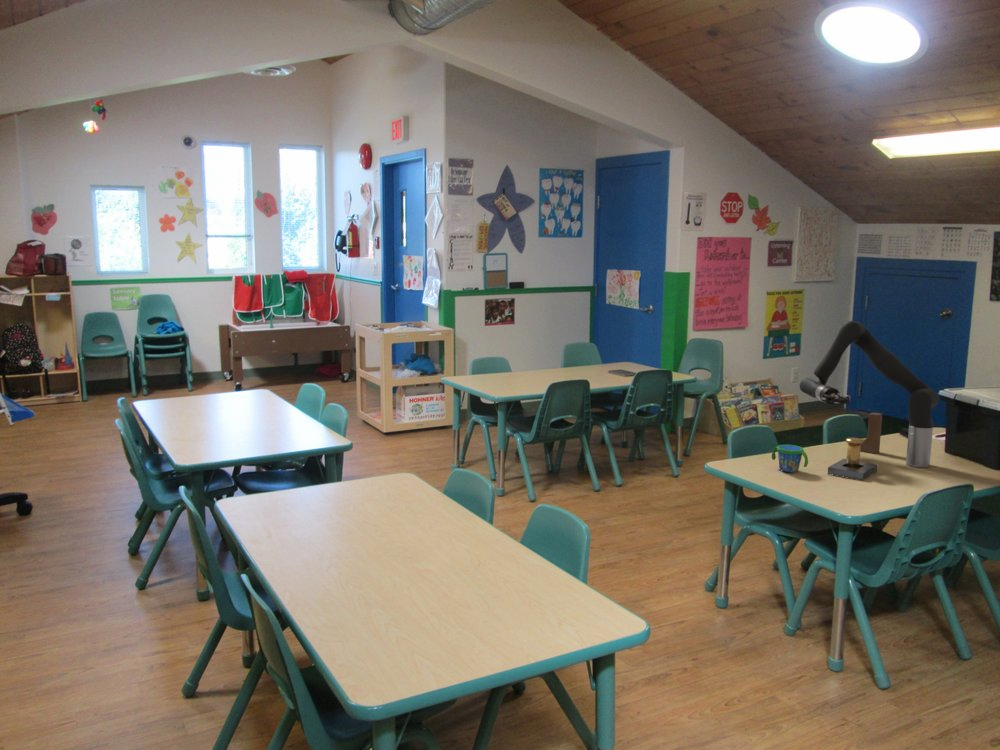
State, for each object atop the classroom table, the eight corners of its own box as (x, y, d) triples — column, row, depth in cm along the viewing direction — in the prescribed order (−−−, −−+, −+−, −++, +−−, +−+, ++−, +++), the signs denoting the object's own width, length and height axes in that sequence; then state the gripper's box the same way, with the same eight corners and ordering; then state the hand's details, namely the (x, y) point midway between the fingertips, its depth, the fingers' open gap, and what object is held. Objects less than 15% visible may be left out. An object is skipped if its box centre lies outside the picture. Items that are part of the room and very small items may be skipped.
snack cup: (812, 473, 351) (814, 449, 350) (796, 477, 345) (798, 453, 344) (781, 464, 364) (782, 442, 362) (765, 468, 358) (766, 445, 356)
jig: (842, 465, 364) (843, 458, 363) (876, 471, 355) (877, 464, 354) (827, 474, 350) (828, 467, 350) (862, 480, 341) (863, 473, 341)
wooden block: (855, 450, 389) (858, 412, 386) (859, 448, 392) (862, 410, 389) (876, 453, 383) (879, 415, 380) (879, 452, 386) (882, 413, 383)
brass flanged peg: (846, 469, 357) (849, 436, 355) (863, 472, 353) (865, 439, 350) (841, 472, 352) (843, 439, 350) (857, 475, 348) (860, 442, 346)
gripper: (812, 386, 373) (830, 393, 356) (842, 386, 374) (862, 393, 357) (811, 403, 375) (829, 411, 358) (841, 402, 376) (860, 410, 359)
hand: (845, 402), depth 358 cm, fingers closed
